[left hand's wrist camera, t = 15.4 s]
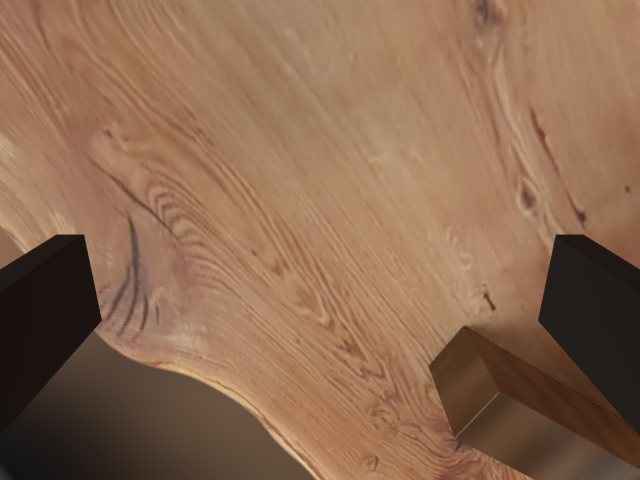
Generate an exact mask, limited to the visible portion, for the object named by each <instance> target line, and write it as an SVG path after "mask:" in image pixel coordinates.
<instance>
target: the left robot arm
mask: <svg viewBox="0 0 640 480" xmlns="http://www.w3.org/2000/svg"><path fill="white" fill-rule="evenodd" d="M101 321H102V319H101V314H100V309H99V304H98V299H97V295H96V290H95V285H94V280H93V275H92V271H91V266H90V261H89V256H88V251H87V246H86V242H85V237H84V235H55V236H53V237H52V238H50V239H49V240H47V241H45V242H44V243H42V244H41V245H39V246H37V247H36V248H34V249H32V250H31V251H29V252H28V253H26V254H24V255H23V256H21V257H20V258H18V259H16V260H15V261H13V262H11V263H10V264H8V265H7V266H5V267H3V268H2V269H0V436H1V435H2V434H3V433H4V432H5V431H6V429H7V428H8V427H9V426H10V425H11V424H12V423H13V421H14V420H15V419H16V418H17V417H18V416H19V415H20V413H21V412H22V411H23V410H24V409H25V408H26V407H27V405H28V404H29V403H30V402H31V401H32V400H33V399H34V397H35V396H36V395H37V394H38V393H39V392H40V391H41V389H42V388H43V387H44V386H45V385H46V384H47V383H48V381H49V380H50V379H51V378H52V377H53V376H54V375H55V373H56V372H57V371H58V370H59V369H60V368H61V367H62V365H63V364H64V363H65V362H66V361H67V360H68V359H69V357H70V356H71V355H72V354H73V353H74V352H75V351H76V349H77V348H78V347H79V346H80V345H81V344H82V343H83V341H84V340H85V339H86V338H87V337H88V336H89V335H90V333H91V332H92V331H93V330H94V329H95V328H96V327H97V325H98V324H99V323H100V322H101ZM538 321H539V322H540V323H541V324H542V325H543V327H544V328H545V329H546V330H547V331H548V332H549V333H550V335H551V336H552V337H553V338H554V339H555V340H556V341H557V343H558V344H559V345H560V346H561V347H562V348H563V349H564V351H565V352H566V353H567V354H568V355H569V356H570V357H571V359H572V360H573V361H574V362H575V363H576V364H577V365H578V367H579V368H580V369H581V370H582V371H583V372H584V373H585V375H586V376H587V377H588V378H589V379H590V380H591V381H592V383H593V384H594V385H595V386H596V387H597V388H598V389H599V391H600V392H601V393H602V394H603V395H604V396H605V397H606V399H607V400H608V401H609V402H610V403H611V404H612V405H613V407H614V408H615V409H616V410H617V411H618V412H619V413H620V415H621V416H622V417H623V418H624V419H625V420H626V421H627V423H628V424H629V425H630V426H631V427H632V428H633V429H634V431H635V432H636V433H637V434H638V435H639V436H640V269H638V268H637V267H635V266H633V265H632V264H630V263H629V262H627V261H625V260H624V259H622V258H620V257H619V256H617V255H616V254H614V253H612V252H611V251H609V250H608V249H606V248H604V247H603V246H601V245H599V244H598V243H596V242H595V241H593V240H591V239H590V238H588V237H587V236H585V235H556V237H555V242H554V246H553V251H552V256H551V261H550V266H549V271H548V275H547V280H546V285H545V290H544V295H543V299H542V304H541V309H540V314H539V319H538Z"/></svg>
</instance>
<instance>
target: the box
mask: <svg viewBox="0 0 640 480" xmlns="http://www.w3.org/2000/svg"><path fill="white" fill-rule="evenodd" d="M429 369H430V372H431V375H432V377H433V380H434V383H435V385H436V388H437V391H438V394H439V396H440V399H441V402H442V404H443V407H444V410H445V413H446V415H447V418H448V421H449V423H450V426H451V429H452V432H453V434H454V437H455V439H457V440H459V441H461V442H463V443H465V444H467V445H469V446H471V447H473V448H475V449H477V450H479V451H481V452H482V453H484V454H486V455H488V456H490V457H492V458H494V459H496V460H498V461H500V462H502V463H504V464H506V465H508V466H509V467H511V468H513V469H515V470H517V471H519V472H521V473H523V474H525V475H527V476H529V477H531V478H533V479H535V480H640V436H639V435H638V434H637V433H636V432H635V431H634V429H633V428H632V427H631V426H630V425H629V424H628V423H627V421H625V420H623V419H622V418H620V417H618V416H617V415H615V414H613V413H611V412H610V411H608V410H606V409H605V408H603V407H601V406H599V405H598V404H596V403H594V402H593V401H591V400H589V399H587V398H586V397H584V396H582V395H581V394H579V393H577V392H575V391H574V390H572V389H570V388H569V387H567V386H565V385H563V384H562V383H560V382H558V381H557V380H555V379H553V378H551V377H550V376H548V375H546V374H545V373H543V372H541V371H539V370H538V369H536V368H534V367H533V366H531V365H529V364H527V363H526V362H524V361H522V360H521V359H519V358H517V357H515V356H514V355H512V354H510V353H509V352H507V351H505V350H503V349H502V348H500V347H498V346H497V345H495V344H493V343H491V342H490V341H488V340H486V339H485V338H483V337H481V336H479V335H478V334H476V333H474V332H473V331H471V330H469V329H467V328H466V327H464V326H463V327H462V328H461V330H460V331H459V332H458V333H457V334H456V335H455V336H454V338H453V339H452V340H451V341H450V342H449V343H448V345H447V346H446V347H445V348H444V349H443V350H442V352H441V353H440V354H439V355H438V356H437V357H436V358H435V360H434V361H433V362H432V363H431V364H430V365H429Z"/></svg>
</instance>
